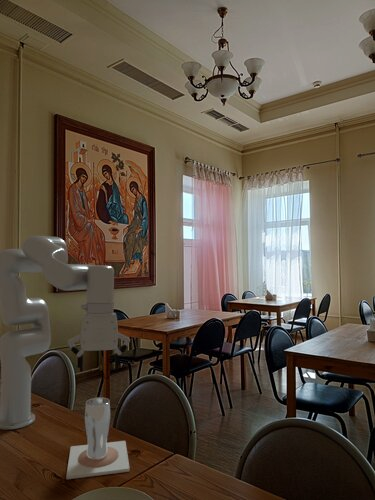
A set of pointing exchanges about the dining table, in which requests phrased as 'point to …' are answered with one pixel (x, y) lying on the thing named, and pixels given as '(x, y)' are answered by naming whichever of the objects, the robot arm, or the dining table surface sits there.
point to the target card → (109, 465)
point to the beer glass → (97, 427)
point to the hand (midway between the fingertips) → (99, 369)
